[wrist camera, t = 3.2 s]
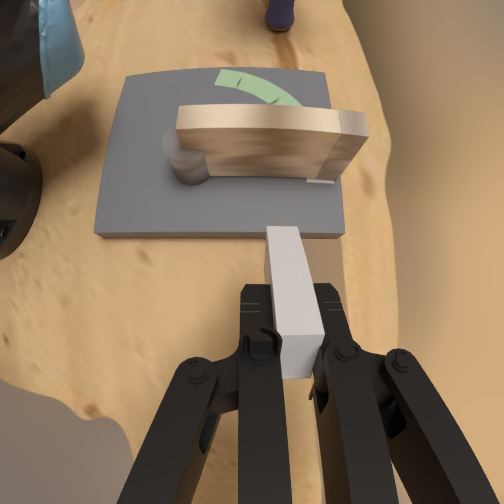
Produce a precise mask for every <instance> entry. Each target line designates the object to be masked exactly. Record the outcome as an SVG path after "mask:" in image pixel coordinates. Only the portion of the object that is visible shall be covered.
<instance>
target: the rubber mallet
mask: <svg viewBox="0 0 504 504" xmlns="http://www.w3.org/2000/svg"><path fill="white" fill-rule="evenodd" d="M293 7H294V0H269V6H268V10H267V12H266V14H265V20H266V23H267V24H268V25H269V27H270V28H271V29H273V30H276V31H285V30H287V29H288V28H289V27H290V26H291V25H292V24H293V22H294V14H293Z"/></svg>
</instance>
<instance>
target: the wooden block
mask: <svg viewBox="0 0 504 504" xmlns="http://www.w3.org/2000/svg"><path fill="white" fill-rule="evenodd" d="M368 138H369V134H368V129H367V124H366V119H365V115H364V113H362V112H356V111H349V110H341V109H338V110H333V109H324V108H314V107H302V106H287V105H266V104H207V105H186V106H179V109H178V116H177V123H175V124H173V125H172V126H170V127H169V128H168V129H167V130H166V132H165V133H164V135H163V138H162V148H163V150H164V152H165V154H166V156H167V158H168V160H169V162H170V164H171V166H172V168H173V170H174V172H175V174H176V176H177V178H178V179H179V180H180V181H182V182H183V183H185V184H189V185H196V184H200V183H202V182H204V181H205V180H207V179H208V178H209V177H210V176H267V177H298V178H316V179H324V180H337V179H338V178H339V176H340V175H341V174H342V172H343V171H344V170H345V168H346V167H347V166H348V164H349V163H350V162H351V160H352V159H353V158H354V156H355V155H356V154H357V152H358V151H359V150H360V148H361V147H362V146H363V144H364V143H365V142H366V140H367V139H368Z"/></svg>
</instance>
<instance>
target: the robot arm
mask: <svg viewBox="0 0 504 504" xmlns="http://www.w3.org/2000/svg"><path fill="white" fill-rule="evenodd" d="M84 58H85V55H84V50H83V46H82V43H81V40H80V36H79V33H78V30H77V26H76V23H75V19H74V16H73V13H72V9H71V5H70V2H69V0H0V134H1V133H3V132H4V131H5V130H6V129H7V128H8V127H9V126H10V125H12V124H13V123H14V122H15V121H16V120H17V119H19V118H20V117H21V116H22V115H23V114H25V113H26V112H27V111H28V110H30V109H31V108H32V107H34V106H35V105H36V104H37V103H39V102H40V101H41V100H43V99H44V98H45V99H48V98H49V97H50V96H51V93H53V92H54V91H55V90H56V89H58V88H59V87H61V86H62V85H63V84H65V83H66V82H67V81H69V80H70V79H72V78H73V77H74V76H75V75H76V74H77V73H78V72H79V71H80V70H81V68H82V66H83V63H84ZM41 188H42V174H41V168H40V164H39V161H38V159H37V158H36V156H35V155H34V154H33V153H32V152H31V151H29V150H28V149H27V148H26V147H24V146H23V145H21V144H18V143H14V142H9V141H4V140H0V259H1V258H4V257H6V256H7V255H9V254H10V253H11V252H13V251H14V250H15V249H16V248H17V246H18V245H19V244H20V243H21V241H22V240H23V238H24V237H25V235H26V234H27V232H28V230H29V228H30V226H31V224H32V222H33V219H34V217H35V214H36V211H37V208H38V204H39V200H40V195H41ZM264 278H265V284H246V285H245V286H244V288H243V290H242V291H241V296H240V338H239V346H238V348H237V350H236V351H235V352H234V353H233V354H232V355H231V356H229V357H227V358H225V359H222V360H218V361H214V362H211V361H210V360H207V359H205V358H201V357H193V358H189V359H186V360H185V361H183V362H182V363H181V364H180V365H179V366H178V368H177V369H176V371H175V374H174V376H173V378H172V380H171V382H170V384H169V387H168V389H167V391H166V393H165V395H164V397H163V400H162V402H161V404H160V406H159V408H158V411H157V413H156V415H155V417H154V420H153V422H152V424H151V426H150V428H149V431H148V433H147V435H146V437H145V440H144V442H143V444H142V446H141V449H140V451H139V453H138V455H137V458H136V460H135V462H134V464H133V467H132V469H131V471H130V474H129V476H128V478H127V481H126V483H125V485H124V488H123V490H122V492H121V495H120V497H119V499H118V501H117V504H191V501H192V499H193V496H194V493H195V490H196V487H197V484H198V482H199V479H200V476H201V473H202V470H203V467H204V464H205V461H206V458H207V455H208V452H209V449H210V447H211V444H212V441H213V438H214V435H215V432H216V429H217V426H218V423H219V420H220V417H221V414H223V413H227V412H230V411H234V410H237V409H238V504H292V492H291V478H290V464H289V452H288V439H287V427H286V415H285V403H284V392H283V381H282V379H302V378H311V375H312V372H313V376H314V384H313V386H312V389H311V391H310V394H309V400H312V397H313V400H314V407H315V414H316V421H317V429H318V436H319V445H320V452H321V461H322V470H323V479H324V488H325V497H326V504H399V501H398V496H397V490H396V484H395V479H394V474H393V469H392V464H391V461H392V463H393V465H394V467H395V469H396V471H397V473H398V475H399V477H400V479H401V481H402V483H403V485H404V487H405V489H406V491H407V493H408V496H409V498H410V500H411V502H412V504H499V501H498V499H497V497H496V495H495V493H494V491H493V489H492V487H491V485H490V483H489V481H488V479H487V477H486V475H485V473H484V471H483V469H482V467H481V465H480V463H479V461H478V460H477V458H476V456H475V454H474V452H473V450H472V449H471V447H470V445H469V443H468V442H467V440H466V438H465V436H464V434H463V433H462V431H461V429H460V428H459V426H458V424H457V423H456V421H455V419H454V417H453V416H452V415H451V413H450V411H449V409H448V408H447V406H446V405H445V403H444V401H443V400H442V398H441V396H440V395H439V393H438V392H437V390H436V388H435V387H434V385H433V384H432V382H431V381H430V379H429V378H428V376H427V375H426V373H425V372H424V370H423V369H422V367H421V365H420V364H419V362H418V361H417V359H416V358H415V357H414V356H413V355H412V354H411V353H410V352H408V351H407V350H405V349H399V348H398V349H392V350H391V351H389V352H388V353H387V355H386V356H385V355H379V354H374V353H370V352H366V351H364V350H362V349H361V347H360V345H358V344H357V343H356V342H355V341H353V338H352V336H351V333H350V329H349V326H348V323H347V319H346V316H345V313H344V310H343V307H342V304H341V300H340V297H339V294H338V291H336V289H335V288H334V287H333V286H332V285H331V284H330V283H312V279H311V275H310V271H309V267H308V263H307V260H306V256H305V252H304V248H303V245H302V241H301V237H300V234H299V230H298V227H296V226H267V227H266V245H265V262H264Z"/></svg>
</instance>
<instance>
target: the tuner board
mask: <svg viewBox="0 0 504 504" xmlns="http://www.w3.org/2000/svg"><path fill="white" fill-rule="evenodd" d="M207 104H266V105H287V106H302V107H314V108H324V109H331V104H330V98H329V93H328V87H327V82H326V77H325V73H323V72H314V71H305V70H293V69H279V68H254V67H222V68H197V69H183V70H172V71H162V72H153V73H146V74H139V75H132V76H126V79H125V82H124V85H123V89H122V92H121V95H120V99H119V102H118V106H117V110H116V113H115V117H114V121H113V125H112V129H111V133H110V138H109V142H108V147H107V151H106V156H105V161H104V166H103V172H102V177H101V183H100V189H99V196H98V202H97V210H96V218H95V226H94V233H95V234H97V235H99V236H102V237H104V238H266V227H267V226H296V227H298V230H299V234H300V237H301V238H304V239H307V238H308V239H337V238H339V237H340V236H342V235H343V234H345V224H344V211H343V199H342V188H341V178H340V176H339V178H338V179H337V180H324V179H316V178H298V177H267V176H210V177H209V178H208V179H207V180H205V181H204V182H202V183H200V184H196V185H189V184H185V183H183V182H182V181H180V180H179V179H178V178H177V176H176V174H175V172H174V170H173V168H172V166H171V164H170V162H169V160H168V158H167V156H166V154H165V152H164V150H163V148H162V138H163V135H164V133H165V132H166V130H167V129H168V128H169V127H170V126H172V125H173V124H175V123H177V116H178V109H179V106H186V105H207Z"/></svg>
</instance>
